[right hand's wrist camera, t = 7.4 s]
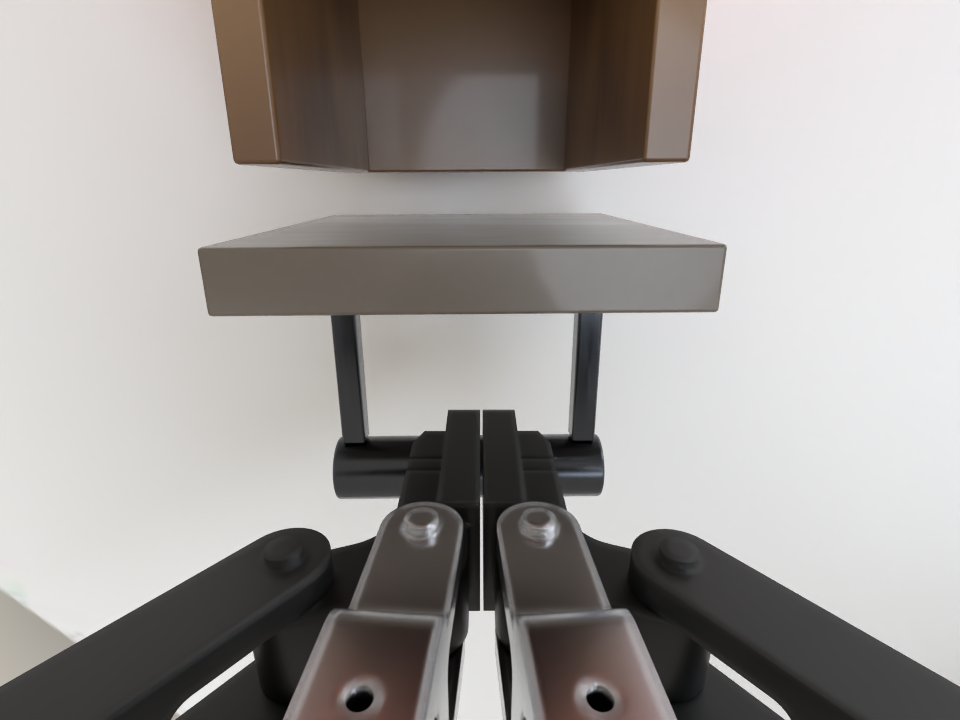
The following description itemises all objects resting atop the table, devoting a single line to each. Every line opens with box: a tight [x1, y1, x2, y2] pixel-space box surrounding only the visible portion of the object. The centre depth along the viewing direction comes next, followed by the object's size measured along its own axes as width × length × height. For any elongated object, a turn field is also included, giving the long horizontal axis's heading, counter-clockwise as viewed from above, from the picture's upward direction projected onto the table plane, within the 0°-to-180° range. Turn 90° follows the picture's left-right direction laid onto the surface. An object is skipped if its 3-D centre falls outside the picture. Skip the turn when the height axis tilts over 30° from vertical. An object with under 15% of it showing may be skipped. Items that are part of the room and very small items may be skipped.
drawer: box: [198, 0, 727, 499], centre depth 12 cm, size 23×9×9 cm, turn 0°
